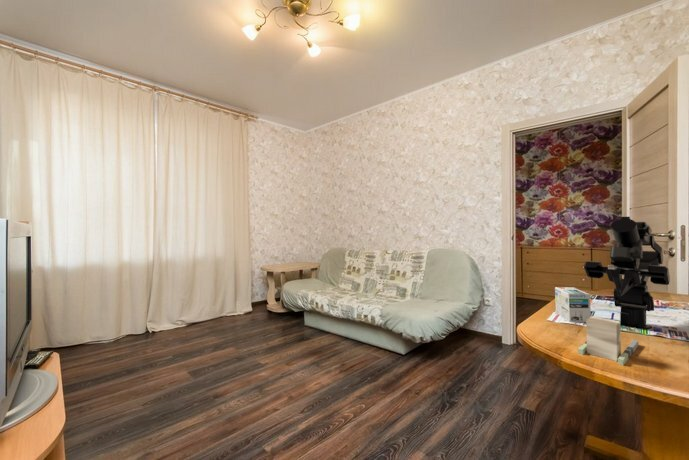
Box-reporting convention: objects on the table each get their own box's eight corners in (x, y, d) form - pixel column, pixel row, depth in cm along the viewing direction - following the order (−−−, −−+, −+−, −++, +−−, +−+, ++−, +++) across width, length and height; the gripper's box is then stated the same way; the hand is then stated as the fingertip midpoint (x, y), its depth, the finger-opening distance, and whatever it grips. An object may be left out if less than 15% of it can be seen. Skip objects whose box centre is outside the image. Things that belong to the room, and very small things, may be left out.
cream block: (591, 349, 84) (591, 316, 83) (620, 356, 79) (620, 321, 78) (587, 353, 81) (586, 319, 81) (616, 361, 76) (616, 325, 76)
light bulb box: (591, 325, 103) (591, 293, 103) (569, 325, 105) (568, 293, 104) (574, 315, 114) (574, 286, 113) (554, 315, 115) (553, 286, 115)
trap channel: (597, 339, 92) (597, 332, 92) (638, 348, 85) (638, 340, 85) (578, 357, 81) (578, 348, 81) (623, 369, 74) (623, 360, 74)
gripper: (585, 236, 100) (574, 275, 94) (667, 237, 85) (661, 283, 79) (592, 257, 105) (583, 295, 99) (672, 262, 90) (666, 307, 84)
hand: (619, 295), depth 90 cm, fingers closed
